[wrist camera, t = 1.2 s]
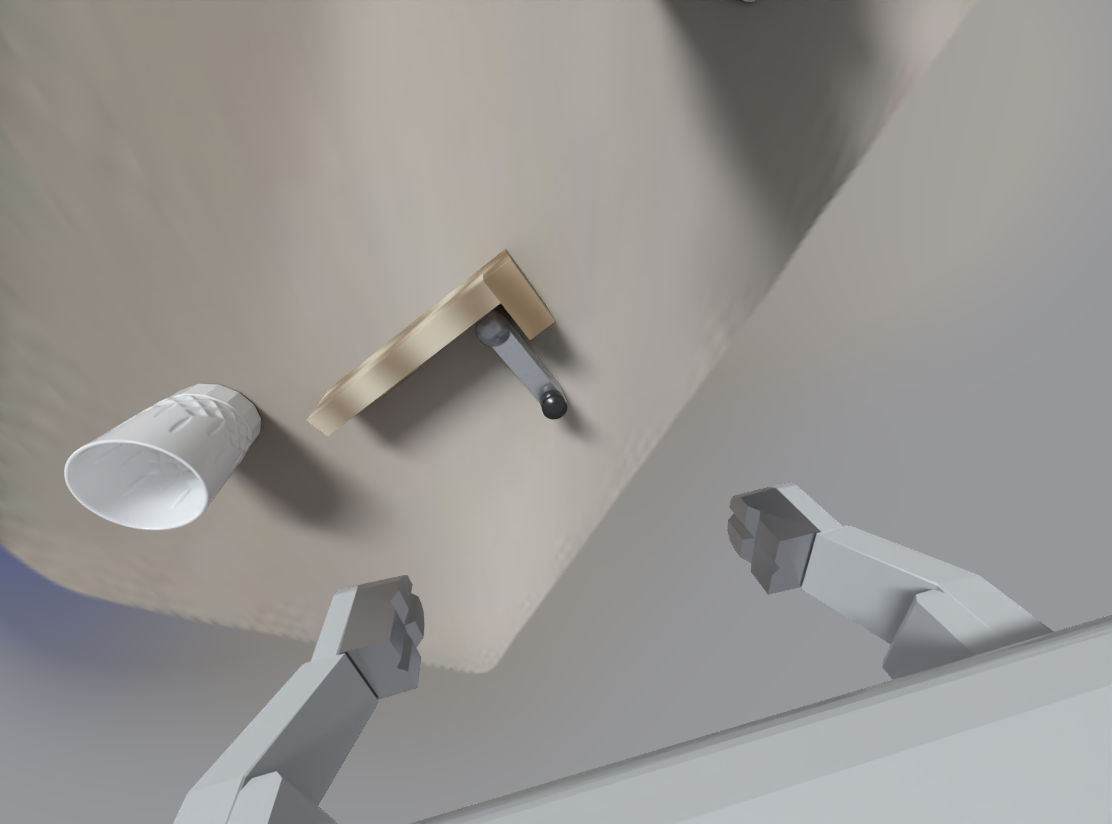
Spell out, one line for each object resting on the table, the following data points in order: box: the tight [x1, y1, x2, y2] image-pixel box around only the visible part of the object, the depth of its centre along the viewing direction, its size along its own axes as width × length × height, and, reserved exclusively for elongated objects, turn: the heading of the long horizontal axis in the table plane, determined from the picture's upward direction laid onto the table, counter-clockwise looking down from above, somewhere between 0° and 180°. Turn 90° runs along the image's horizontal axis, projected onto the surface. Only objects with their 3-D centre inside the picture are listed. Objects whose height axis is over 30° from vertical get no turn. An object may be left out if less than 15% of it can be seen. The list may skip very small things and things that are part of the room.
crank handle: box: [476, 304, 567, 419], centre depth 35 cm, size 11×3×5 cm, turn 36°
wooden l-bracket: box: [307, 249, 555, 436], centre depth 34 cm, size 20×6×6 cm, turn 126°
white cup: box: [64, 384, 261, 530], centre depth 32 cm, size 8×8×10 cm
